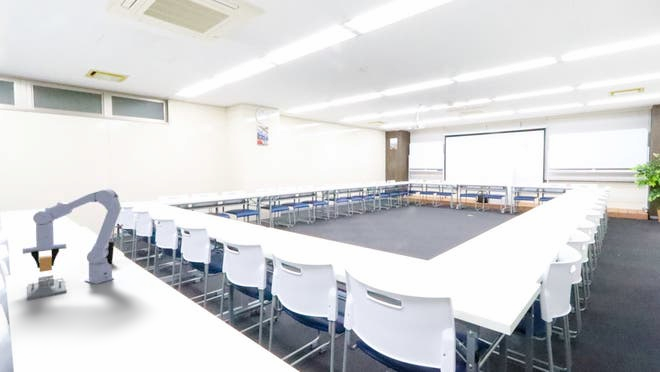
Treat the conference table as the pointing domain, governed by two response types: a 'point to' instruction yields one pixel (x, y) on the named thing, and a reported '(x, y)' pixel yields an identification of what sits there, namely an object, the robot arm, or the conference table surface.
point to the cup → (110, 252)
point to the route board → (46, 289)
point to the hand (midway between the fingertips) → (45, 266)
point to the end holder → (47, 279)
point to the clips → (45, 284)
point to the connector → (45, 263)
